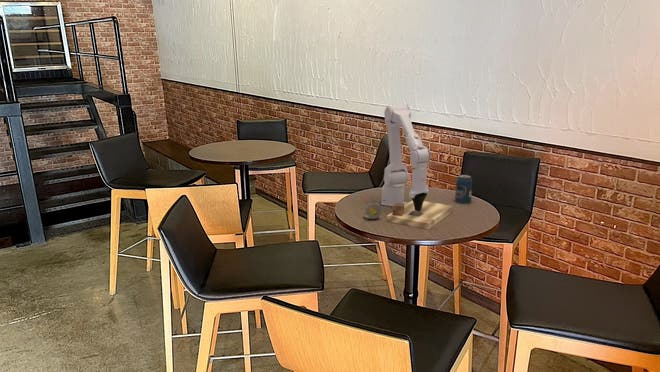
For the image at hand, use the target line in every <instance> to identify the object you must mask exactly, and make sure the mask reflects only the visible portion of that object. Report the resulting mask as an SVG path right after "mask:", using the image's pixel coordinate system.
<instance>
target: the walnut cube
mask: <svg viewBox="0 0 660 372" xmlns="http://www.w3.org/2000/svg"><path fill="white" fill-rule="evenodd" d="M391 213H392V215H397V216H402V215H403V214H404V204H403V203H394V204H393V207H392V212H391Z"/></svg>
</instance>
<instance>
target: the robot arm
mask: <svg viewBox="0 0 660 372" xmlns="http://www.w3.org/2000/svg"><path fill="white" fill-rule="evenodd" d="M383 113H384V124H385V125H386V126H387V138H388V151H389V164H388V165H387V166H386V167H385V168H384V171H383V173H384V174H383V181H384V184H383V186H382V188H381V202H380V206H381V205H382V206H388V207H392V208H393V204H394V203H403V204H404V205H405V204H407V203H408V202H407V201H404V200H405V186H406V185H407V184H408V182H409V179H410V176H409V171H408V167H407V166H406V165H405V164H403V163H402V162H403V161H402V144H401V132H400V131H401V130H400V129H401V128H402V131H403V132H404V134H405V136H406V138H405V143H406V145H407V147H408V149H409V151H410V155H409V158H410V159H409V160H410V165H411V168H412V172H411V173H412V174H411V188H410V191H409V192H408V198H410V199H411V201H412V200H413V203H414V208H415V211H421V209H422V205H423V202H424V201H425V199H426V198H427V195H428V193H429V191H430V190H429V185H428V184H427V179H428V178H427V175H428V174H427V173H428V163H429V162H430V161H431V152H430V149H429V147H426V146H424V143H423V141H422V139H421V136H420V135H419V133H416V132H415V129H414V126H413V124H412V120H411V117H412V110H411V107H410V105H409V104H401V105H400V104H398V105H387V106H386V108H385V109H384V112H383ZM400 127H401V128H400Z"/></svg>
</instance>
